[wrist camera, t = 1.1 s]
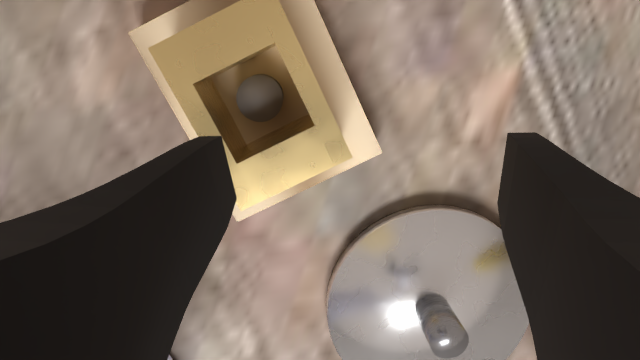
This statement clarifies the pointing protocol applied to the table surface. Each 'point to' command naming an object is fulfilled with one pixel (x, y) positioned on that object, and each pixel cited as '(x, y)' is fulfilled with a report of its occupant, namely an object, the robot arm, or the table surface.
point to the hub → (426, 290)
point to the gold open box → (214, 117)
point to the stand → (270, 85)
